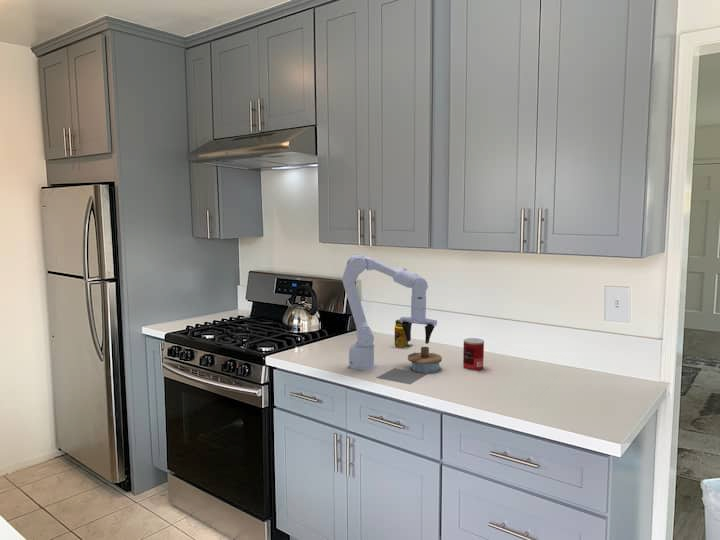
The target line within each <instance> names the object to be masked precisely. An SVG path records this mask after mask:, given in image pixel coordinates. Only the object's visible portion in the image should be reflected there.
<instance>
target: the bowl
mask: <svg viewBox="0 0 720 540" xmlns="http://www.w3.org/2000/svg"><path fill="white" fill-rule="evenodd" d="M411 370H413V371H414V372H419V373H435V372H438V371H439V370H440V362H439V363H435V364H418V363H413V362H411Z"/></svg>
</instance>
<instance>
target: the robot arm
mask: <svg viewBox="0 0 720 540" xmlns="http://www.w3.org/2000/svg"><path fill="white" fill-rule="evenodd" d="M365 270H366V271H374V270H375V271H377V272H379V273H381V274H385V275H387V276H389V277H392V279H393V283H397V284H399V285H401V286H403V287H405V288H407V289H411V299H410V300H411V301H410V303H411V304H410V305H411V306H410V308H411V309H410V316H401V317H400V318H399V320H400V322H402V323H403V324H402V327H403V329H404V331H405V334H406V338H407V341H408V343H409V342H410V341H411V339H412V334H411V333H412V324H416V325H425V326H424V330H425V340H424V341H425V344H426V345H427V344H429V343H430V339H431V336H432V333H433V331H434V329H435V327H436V326H437V324H438V320H437V319H433V318H432V319H431V318H427V317H426V316H427V290H428V288H429V286H428V282H427V280H426V279H425V278H423V277H422V276H420V275H419V274H417V273H413V272H410V271H408V270H407V268H405V267H403V268H402V267H399V268H396V269H395V268H393V267H391V266H389V265H386V264H385V263H382V262H381V261H379V260H376V259H374V258H372V257H368V256H363V255H361V254H359V253H357V254H353V255H352V256H350V257H349V259H348V260H347V262H346V265H345V268H344V271H343V273H342V277H341V279H342V280H341V281H342V284H343V288H344V292H345V294H346V297H347V301H348V304H349V305H348V306H349V308H350V311H351V314H352V317H353V321H354V324H355V328H356V333H355V335H356V338H357V339H356V340H357V341H356V342H355V343H352V344H351V345H350V346H349V348H348V349H349V350H348V366H347V367H348V368H349V367H350V368H349V369H356V370H362V371H368V372H369V371H371V370H373V369H375V368H377V367H378V366H379V364H375V342H374V340H375V337H374V333H373V331H372V329H371V328H370V326H369V325H368V323H367V320H366V315H365V313H364V309H363V306H362V302H361V299H360V296H359V292H358V288H357V285H356V283H355V282H356V281H357V279H358V277H359V275H360V274H362V273H363V272H364V271H365Z"/></svg>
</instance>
